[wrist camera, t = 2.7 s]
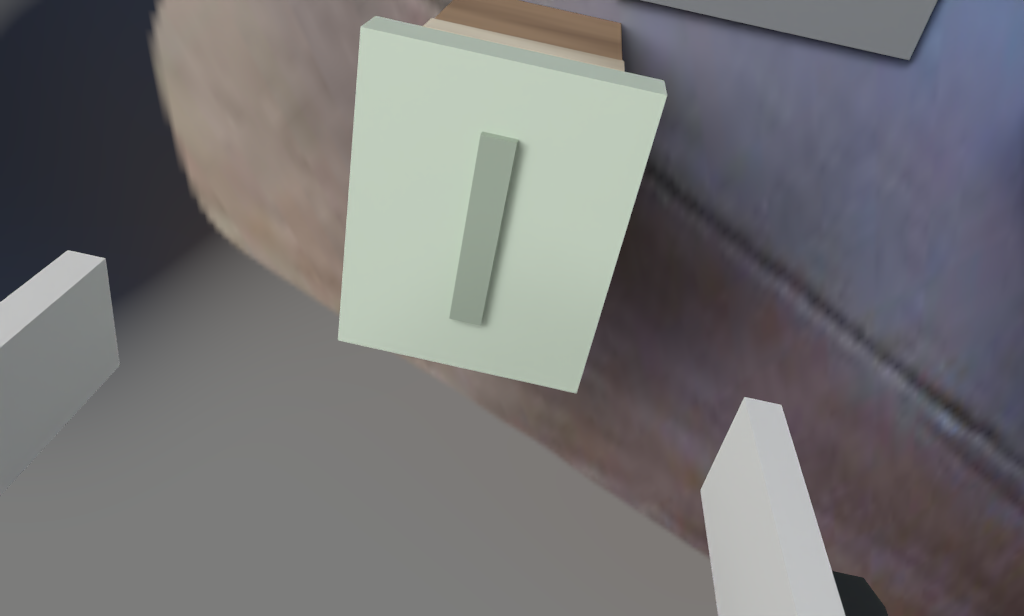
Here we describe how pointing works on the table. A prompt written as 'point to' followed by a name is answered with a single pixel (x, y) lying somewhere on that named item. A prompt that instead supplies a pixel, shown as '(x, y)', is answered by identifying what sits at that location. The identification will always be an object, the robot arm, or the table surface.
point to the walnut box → (535, 29)
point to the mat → (828, 20)
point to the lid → (488, 200)
